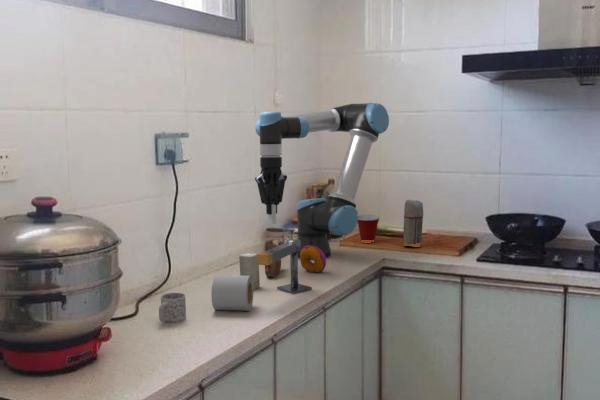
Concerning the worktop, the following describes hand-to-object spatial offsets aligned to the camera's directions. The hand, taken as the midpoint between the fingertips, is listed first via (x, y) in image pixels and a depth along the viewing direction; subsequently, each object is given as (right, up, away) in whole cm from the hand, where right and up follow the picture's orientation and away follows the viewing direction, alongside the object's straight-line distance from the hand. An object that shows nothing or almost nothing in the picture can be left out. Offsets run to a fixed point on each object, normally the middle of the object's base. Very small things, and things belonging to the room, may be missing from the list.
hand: (272, 223), depth 225 cm
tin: (0, -19, +2) cm, 19 cm away
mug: (-26, -25, -49) cm, 61 cm away
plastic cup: (+40, -11, +58) cm, 71 cm away
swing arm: (+4, -9, -29) cm, 31 cm away
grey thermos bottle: (+58, -12, +48) cm, 76 cm away
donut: (+15, -18, +4) cm, 24 cm away
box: (-7, -21, -16) cm, 27 cm away
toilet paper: (-10, -24, -39) cm, 47 cm away
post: (+8, -21, -19) cm, 29 cm away
